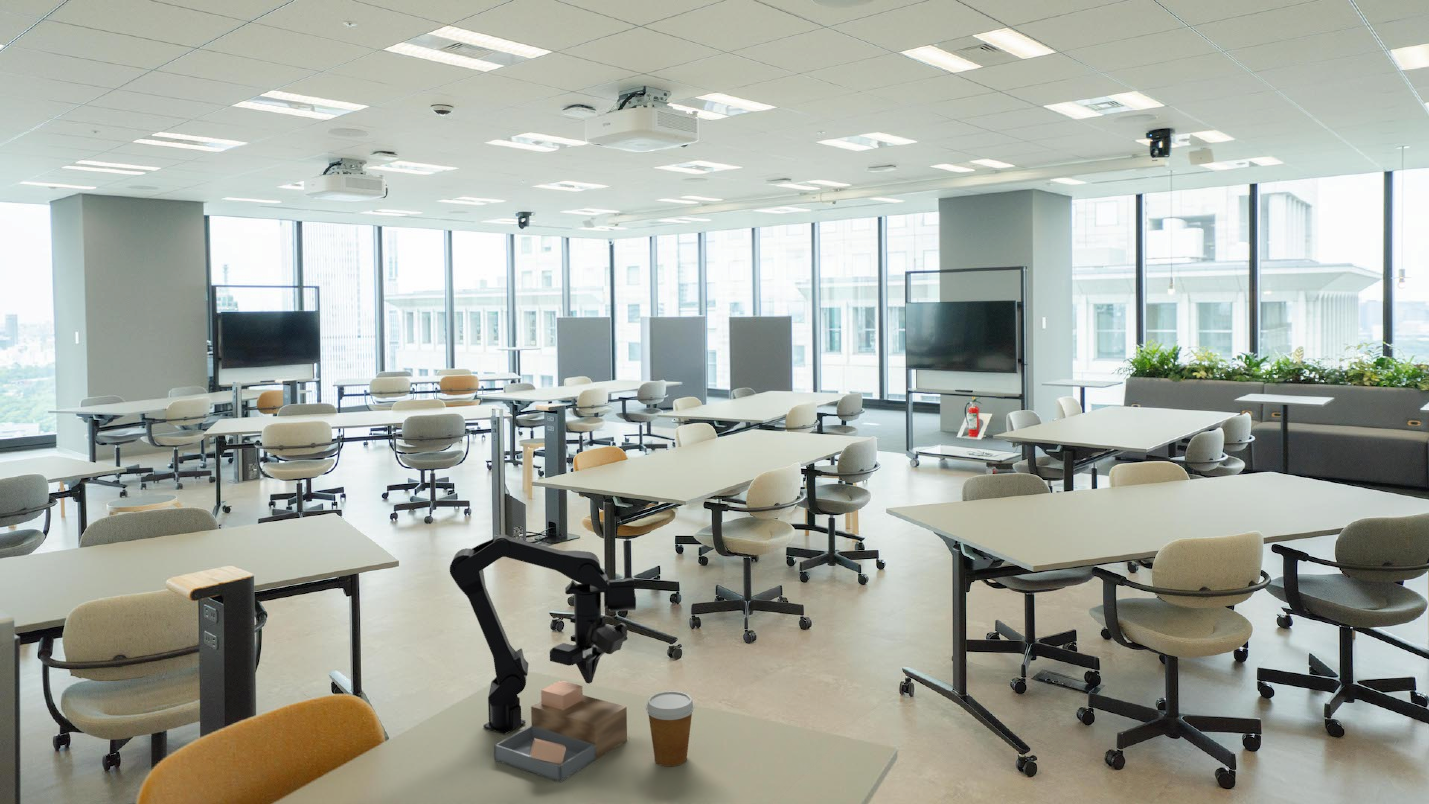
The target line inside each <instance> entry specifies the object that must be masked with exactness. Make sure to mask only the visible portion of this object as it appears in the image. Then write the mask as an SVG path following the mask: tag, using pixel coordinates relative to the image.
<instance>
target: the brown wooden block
mask: <svg viewBox="0 0 1429 804" xmlns="http://www.w3.org/2000/svg"><path fill="white" fill-rule="evenodd" d="M627 708H628V706H625V705H621V704H619V703H618V704H617V703H613V702H610V701H606V700H602V699H599V698H594V697H591V696H588V695H583V700H582V701H580V702H578V703H576V704H574V705H572V706H571V707H569V708H567V709H565V710H561V709H557V708H553V707H550V706H546V705H543V704H541V701H539V702H537V703H535V704H534V705H531V706H530V714H531V725H532V726H535V727H539V728H542V729H545V730H549V731H552V732H555V733H559V734H562V735H565V736H569V737H572V738H575V739H579V740H582V741H585V742H588V743H592V744H595V745H596V760H598V759H599V758H600V757H602V756H604V755H605V754H607V753H608V752H610V751H612V750H613V749H615V748H616V747H619V746H620V745H622V744H623V743H624V742H626V741H627V740H628V717H627V716H628V714H627V712H628V710H627Z"/></svg>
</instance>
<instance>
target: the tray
mask: <svg viewBox="0 0 1429 804" xmlns="http://www.w3.org/2000/svg"><path fill="white" fill-rule="evenodd" d="M534 738H536V739H540V740H544V741H549V742H553V743H557V744H561V745H564V746H565V747H566V751H565V755H564V758H563V762H562V764H556V763H552V762H548V761H544V760H539V759H535V758H531V757H530V751H531V748H532V744H533V741H534ZM493 749H494V750H493V754H494V755H493V758H494V761H496V762H498V763H503V764H505V765H508V766H511V767H514V768H517V769H520V770H523V771H526V772H529V773H531V774H535V775H538V776H541V777H544V778H546V779H549V780H552V781H555V782H558V783H561V782H563V781H565V780H566V779H567V778H569V777H571V776H573V774H576V773H577V772H579V771H580V770H581V769H583V768H585V767H586V766H588V765H590V764H591V763H592V762H593V763H594V762H595V761H596V760H597V759H596V745H595V744H592V743H588V742H585V741H582V740H579V739H575V738H572V737H569V736H565V735H562V734H559V733H555V732H552V731H549V730H545V729H542V728H539V727H535V726H532V724H531V725H530V726H528V727H525V728H524V729H521V731H518V732H516V733H515V734H512V735H511V736H508V737H507V738H504V739H503V740H501V741H500V742H499V741H498V742H497V743H496V744H494V745H493Z"/></svg>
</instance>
